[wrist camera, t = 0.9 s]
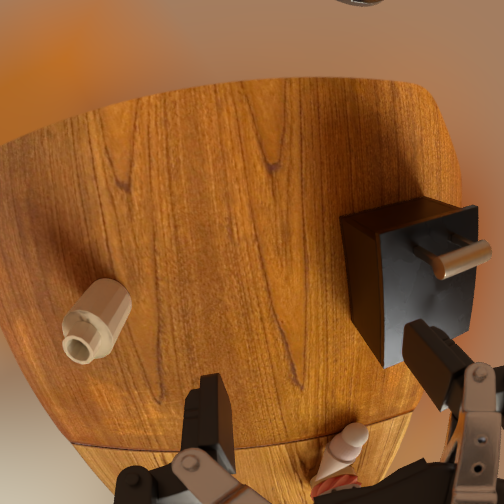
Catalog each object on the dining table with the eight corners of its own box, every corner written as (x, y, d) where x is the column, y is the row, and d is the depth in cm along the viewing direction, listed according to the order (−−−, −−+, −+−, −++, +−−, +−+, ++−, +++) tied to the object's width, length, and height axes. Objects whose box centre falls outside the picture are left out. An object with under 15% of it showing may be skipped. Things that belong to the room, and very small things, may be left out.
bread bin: (338, 216, 32) (375, 240, 24) (424, 195, 32) (472, 212, 24) (351, 321, 36) (380, 364, 28) (426, 294, 36) (464, 327, 28)
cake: (315, 491, 52) (329, 543, 38) (301, 477, 49) (316, 536, 35) (359, 475, 52) (378, 526, 37) (350, 459, 48) (372, 517, 34)
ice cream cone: (306, 466, 47) (350, 410, 46) (332, 480, 44) (378, 426, 43) (295, 482, 41) (344, 424, 40) (324, 497, 39) (375, 441, 37)
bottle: (81, 284, 32) (42, 328, 22) (120, 273, 32) (87, 319, 22) (100, 324, 34) (70, 376, 24) (138, 316, 34) (115, 370, 24)
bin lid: (374, 231, 23) (411, 254, 18) (473, 204, 23) (513, 219, 18) (380, 364, 28) (403, 400, 23) (464, 327, 28) (492, 353, 23)
